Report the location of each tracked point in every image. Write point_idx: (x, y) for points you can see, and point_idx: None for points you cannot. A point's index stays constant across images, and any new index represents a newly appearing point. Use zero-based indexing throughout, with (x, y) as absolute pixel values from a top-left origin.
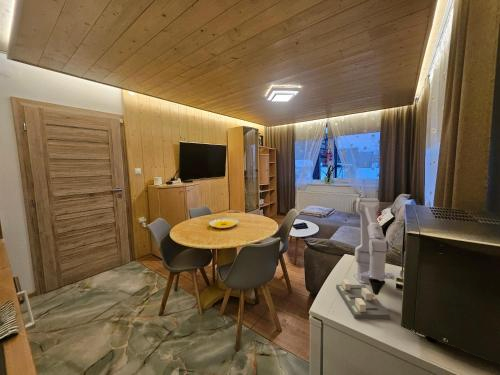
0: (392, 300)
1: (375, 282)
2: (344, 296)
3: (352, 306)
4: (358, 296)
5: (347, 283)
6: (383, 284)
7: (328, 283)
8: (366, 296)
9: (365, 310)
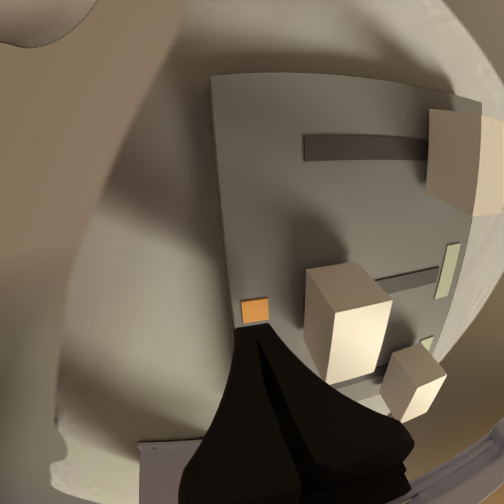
0: (90, 325)
1: (388, 452)
2: (454, 283)
3: None
4: None
5: (430, 385)
6: (211, 456)
7: None
8: (370, 282)
9: (437, 110)
